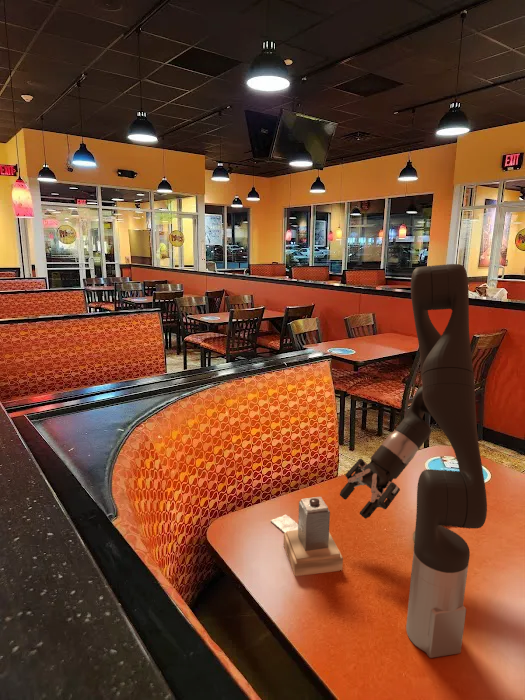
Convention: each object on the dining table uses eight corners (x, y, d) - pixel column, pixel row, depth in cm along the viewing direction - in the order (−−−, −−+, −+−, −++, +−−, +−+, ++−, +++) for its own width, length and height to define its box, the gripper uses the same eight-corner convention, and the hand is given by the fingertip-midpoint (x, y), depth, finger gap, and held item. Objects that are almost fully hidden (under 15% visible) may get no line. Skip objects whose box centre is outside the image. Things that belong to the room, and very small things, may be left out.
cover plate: (302, 530, 117) (302, 527, 117) (286, 537, 114) (286, 534, 114) (285, 517, 123) (286, 514, 123) (270, 523, 120) (270, 520, 120)
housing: (328, 547, 104) (330, 506, 101) (305, 551, 103) (306, 509, 100) (319, 533, 109) (321, 493, 107) (297, 536, 108) (299, 495, 105)
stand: (342, 570, 102) (343, 554, 101) (294, 576, 100) (295, 560, 99) (326, 539, 113) (327, 525, 112) (283, 544, 111) (283, 530, 110)
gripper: (368, 434, 115) (327, 484, 113) (406, 458, 102) (360, 515, 100) (384, 450, 118) (344, 499, 116) (423, 475, 105) (378, 531, 103)
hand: (352, 506), depth 108 cm, fingers open, 8 cm apart
